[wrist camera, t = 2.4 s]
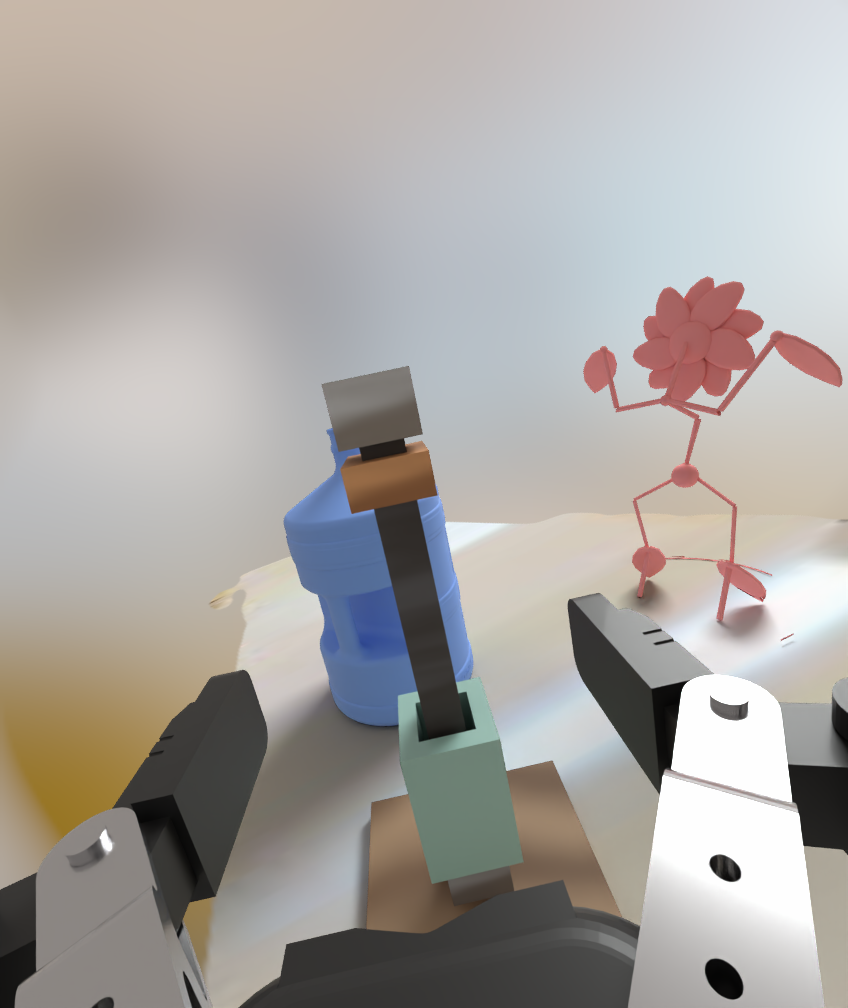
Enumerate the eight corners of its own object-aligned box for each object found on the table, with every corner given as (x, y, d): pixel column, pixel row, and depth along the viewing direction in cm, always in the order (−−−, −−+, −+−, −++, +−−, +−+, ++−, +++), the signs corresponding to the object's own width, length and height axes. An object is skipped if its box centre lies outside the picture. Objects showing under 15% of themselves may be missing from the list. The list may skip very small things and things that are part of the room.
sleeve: (523, 862, 24) (500, 738, 22) (432, 884, 24) (399, 762, 22) (500, 783, 29) (479, 676, 27) (424, 801, 29) (397, 695, 27)
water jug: (387, 631, 60) (335, 423, 54) (497, 646, 52) (452, 402, 45) (304, 711, 48) (222, 453, 41) (431, 749, 39) (354, 431, 33)
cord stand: (660, 1017, 21) (587, 320, 13) (366, 1090, 21) (118, 417, 13) (554, 773, 35) (487, 356, 27) (375, 815, 34) (255, 404, 27)
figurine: (816, 654, 41) (826, 228, 33) (578, 584, 62) (549, 316, 54) (871, 590, 49) (890, 233, 40) (643, 547, 70) (625, 308, 62)
